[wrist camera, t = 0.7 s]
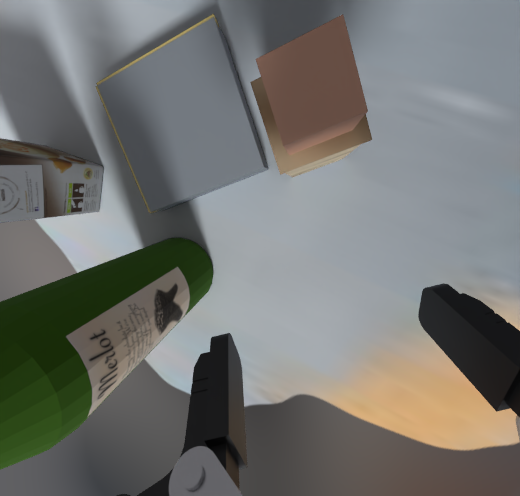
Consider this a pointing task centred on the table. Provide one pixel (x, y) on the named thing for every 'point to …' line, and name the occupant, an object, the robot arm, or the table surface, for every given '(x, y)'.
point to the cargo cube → (313, 86)
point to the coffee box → (45, 182)
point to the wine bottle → (88, 339)
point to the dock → (183, 118)
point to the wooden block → (312, 155)
